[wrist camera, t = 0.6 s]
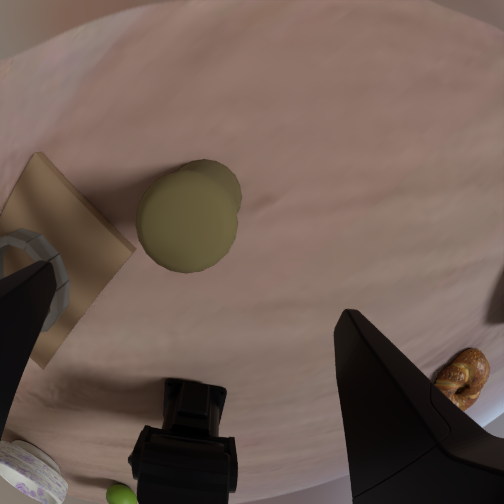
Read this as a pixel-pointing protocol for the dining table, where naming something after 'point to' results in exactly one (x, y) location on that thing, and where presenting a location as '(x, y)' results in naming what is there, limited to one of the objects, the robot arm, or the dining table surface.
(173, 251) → the cork
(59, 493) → the paper bowls
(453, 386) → the pretzel
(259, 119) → the dining table surface
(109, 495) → the snail figurine
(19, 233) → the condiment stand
